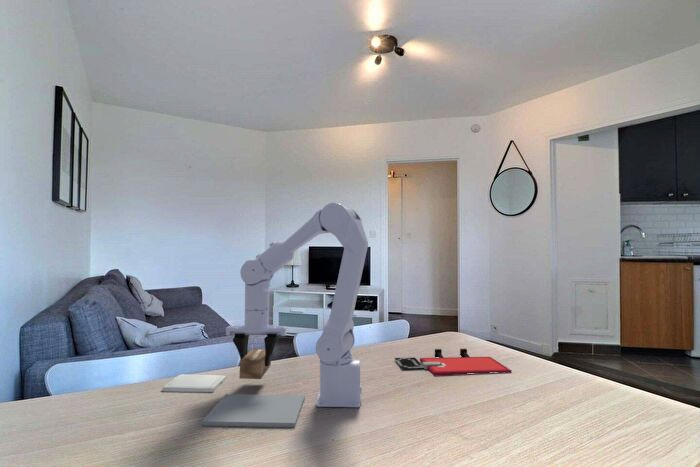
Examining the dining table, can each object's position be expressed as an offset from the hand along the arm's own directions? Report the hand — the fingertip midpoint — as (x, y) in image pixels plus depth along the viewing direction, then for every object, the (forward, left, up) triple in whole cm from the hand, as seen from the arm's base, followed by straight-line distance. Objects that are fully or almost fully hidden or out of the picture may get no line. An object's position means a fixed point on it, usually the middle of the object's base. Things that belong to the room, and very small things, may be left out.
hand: (256, 364), depth 83 cm
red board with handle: (-52, -18, -6) cm, 55 cm away
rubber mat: (-4, +12, -5) cm, 14 cm away
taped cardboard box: (0, 0, -2) cm, 2 cm away
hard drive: (+15, -1, -6) cm, 16 cm away
